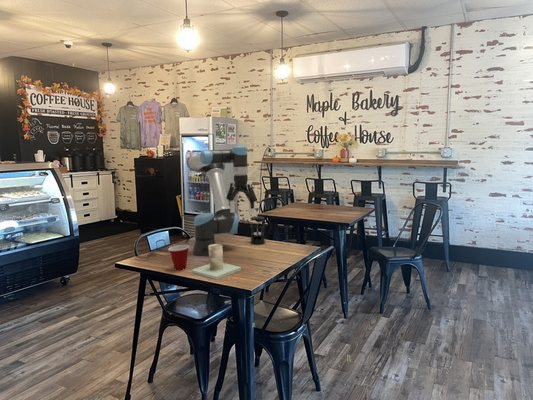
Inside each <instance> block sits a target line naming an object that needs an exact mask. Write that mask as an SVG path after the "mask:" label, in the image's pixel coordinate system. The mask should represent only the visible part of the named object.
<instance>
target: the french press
mask: <svg viewBox="0 0 533 400" xmlns="http://www.w3.org/2000/svg"><path fill="white" fill-rule="evenodd" d="M254 210H255V211H256V212H259V211H258V210H261V208H259V207H256V208H255V207H254V208H253V211H254ZM264 219H265V217H264V216H251V217H250V221H251V222H252V221H255V222H256V223H252V224H250V229H251V233H250V234H251V237H250V245H255V246H260V245H264V244H266V241H265V238H266V224H265V223H261V222H264ZM255 229H256V232H255ZM258 229H260V231H259V230H258Z"/></svg>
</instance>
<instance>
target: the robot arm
mask: <svg viewBox="0 0 533 400" xmlns="http://www.w3.org/2000/svg"><path fill="white" fill-rule="evenodd" d="M247 149H248V148H247V146H246V145H234V146H233V147H232V149H204V150H201V151H200V153H195V154H192V155H190V156H189V157H188V158H187V160H186V165H187V167H188V169H189V170H191V171H192V172H195V173H204V174H205V176H206V177H207V178H208V180H209V184H210V189H211V195H212V200H213V203H214V206H215V212H214V213H213V212H205V213H200V214H197V215H195V217H194V222H193V226H194V244H193V248H192V254H193V255H194V256H198V257H199V256H200V257H201V256H204V257H206V256H208V257H209V245H211V244H217V242H216V238H215V235H221V234H230V233H235V232H236V231H237V230H238V227H239V216H238V213H237V212H236V211H235V210H236V209H235V206H236V205H235V198H236V196H237V195H238V193H243V194H245V197H246V198H247V199H248V201H249V202H248V215H249V216H250V215H251V216H252V215H254V209H255V202H258V199H257V196H256V194H255V191H254V188H253V184H252V183H249V184H248V181H249V179H248V177H249V176H248V150H247ZM226 164H233V182H230V184H229V190H228V192H227V191H226V187H225V186H226V185H225V182H224V179H223V178H224V177H223V174H224V171H225V170H226Z"/></svg>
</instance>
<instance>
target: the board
mask: <svg viewBox="0 0 533 400" xmlns="http://www.w3.org/2000/svg"><path fill="white" fill-rule="evenodd" d="M240 271H242V267H241V266H237V265H234V264H231V263H230V264H229V263H224V262H223V269H222V270H218V271H213V270H210V269H209V263H208V264H204V265H202V266H198V267H195V268H193V269H191V270H190V273H191V272H192V273H191V274H194V273H195V275H197V274H198V275H197V276H202V277H204V278H209V279H213V280H219V279H222V278H224V277H227V276H229V275H232V274H234V273H237V272H240Z"/></svg>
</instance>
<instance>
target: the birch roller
mask: <svg viewBox="0 0 533 400" xmlns="http://www.w3.org/2000/svg"><path fill="white" fill-rule="evenodd" d="M223 247H224V246H223V244H221V243H216V244H211V245H209V255H208V264H209V269H210V270H213V271H218V270H222V269H223V263H224V254H223V253H224V252H223Z"/></svg>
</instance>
